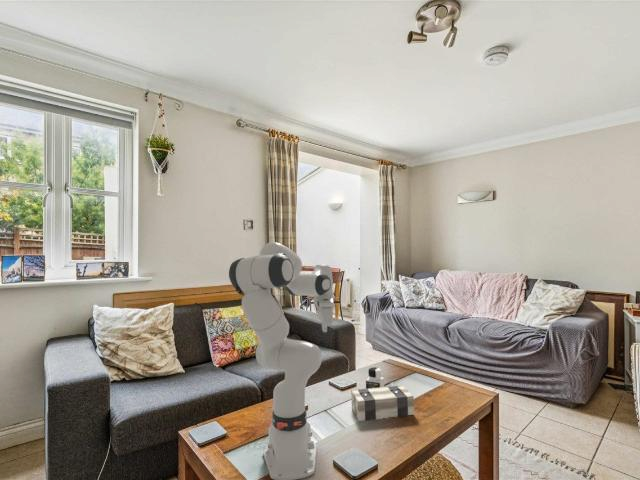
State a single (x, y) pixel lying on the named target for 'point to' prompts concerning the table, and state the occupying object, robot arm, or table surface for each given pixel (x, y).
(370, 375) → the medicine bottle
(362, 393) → the peg
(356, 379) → the table surface
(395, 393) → the peg
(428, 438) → the table surface
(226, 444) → the table surface
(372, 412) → the block
